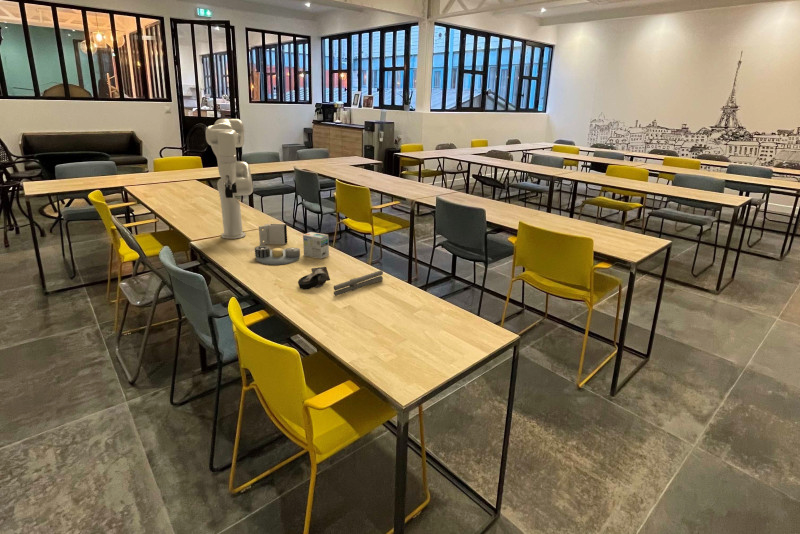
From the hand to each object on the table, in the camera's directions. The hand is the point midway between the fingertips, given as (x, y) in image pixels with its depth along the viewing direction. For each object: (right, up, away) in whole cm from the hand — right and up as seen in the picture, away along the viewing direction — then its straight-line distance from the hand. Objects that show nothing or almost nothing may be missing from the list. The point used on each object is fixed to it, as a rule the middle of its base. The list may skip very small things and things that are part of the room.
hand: (231, 195), depth 220 cm
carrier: (+22, -30, 0) cm, 37 cm away
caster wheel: (+45, -43, -31) cm, 69 cm away
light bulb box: (+40, -29, +5) cm, 50 cm away
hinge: (+15, -23, +20) cm, 33 cm away
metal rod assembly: (+64, -44, -30) cm, 83 cm away
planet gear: (+15, -29, -1) cm, 33 cm away
